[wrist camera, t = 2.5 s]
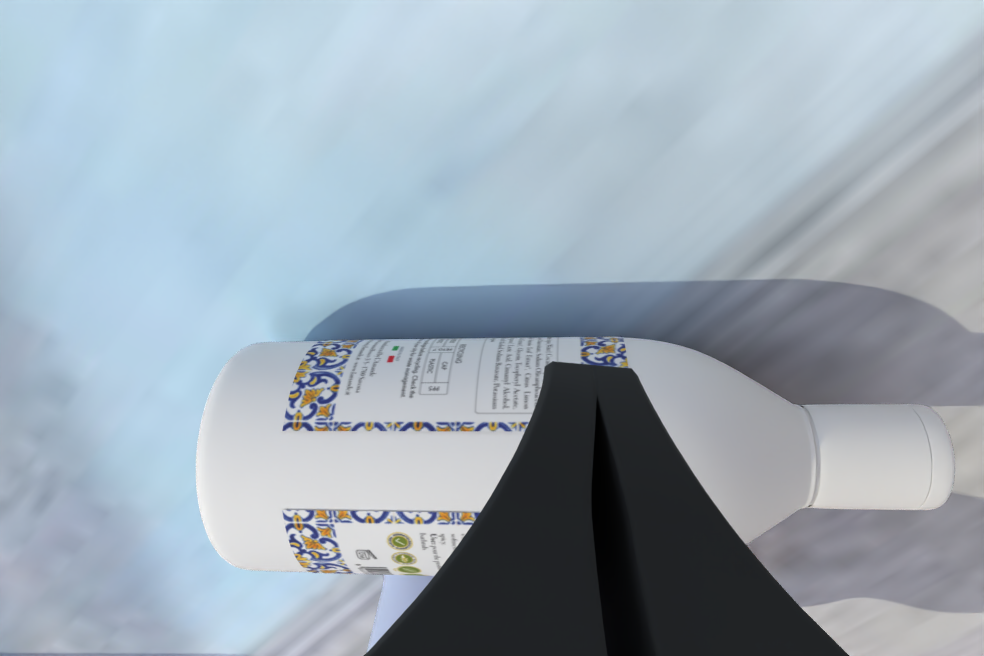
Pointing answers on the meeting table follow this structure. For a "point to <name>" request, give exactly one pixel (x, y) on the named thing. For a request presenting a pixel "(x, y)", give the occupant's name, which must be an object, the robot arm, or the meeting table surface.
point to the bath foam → (508, 445)
